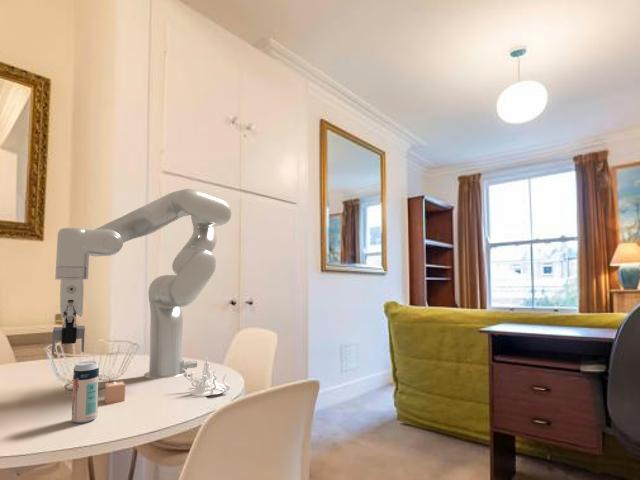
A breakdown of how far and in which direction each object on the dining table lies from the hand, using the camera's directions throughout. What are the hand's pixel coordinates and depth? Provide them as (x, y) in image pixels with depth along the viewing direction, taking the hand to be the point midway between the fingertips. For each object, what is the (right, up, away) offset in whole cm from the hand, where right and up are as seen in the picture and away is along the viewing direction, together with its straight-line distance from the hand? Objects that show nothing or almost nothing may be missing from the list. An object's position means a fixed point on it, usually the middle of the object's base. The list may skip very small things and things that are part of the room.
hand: (68, 340), depth 107 cm
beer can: (+16, -12, -20) cm, 28 cm away
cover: (0, -3, 0) cm, 3 cm away
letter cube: (+16, -13, -7) cm, 21 cm away
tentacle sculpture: (+36, -14, +1) cm, 39 cm away
